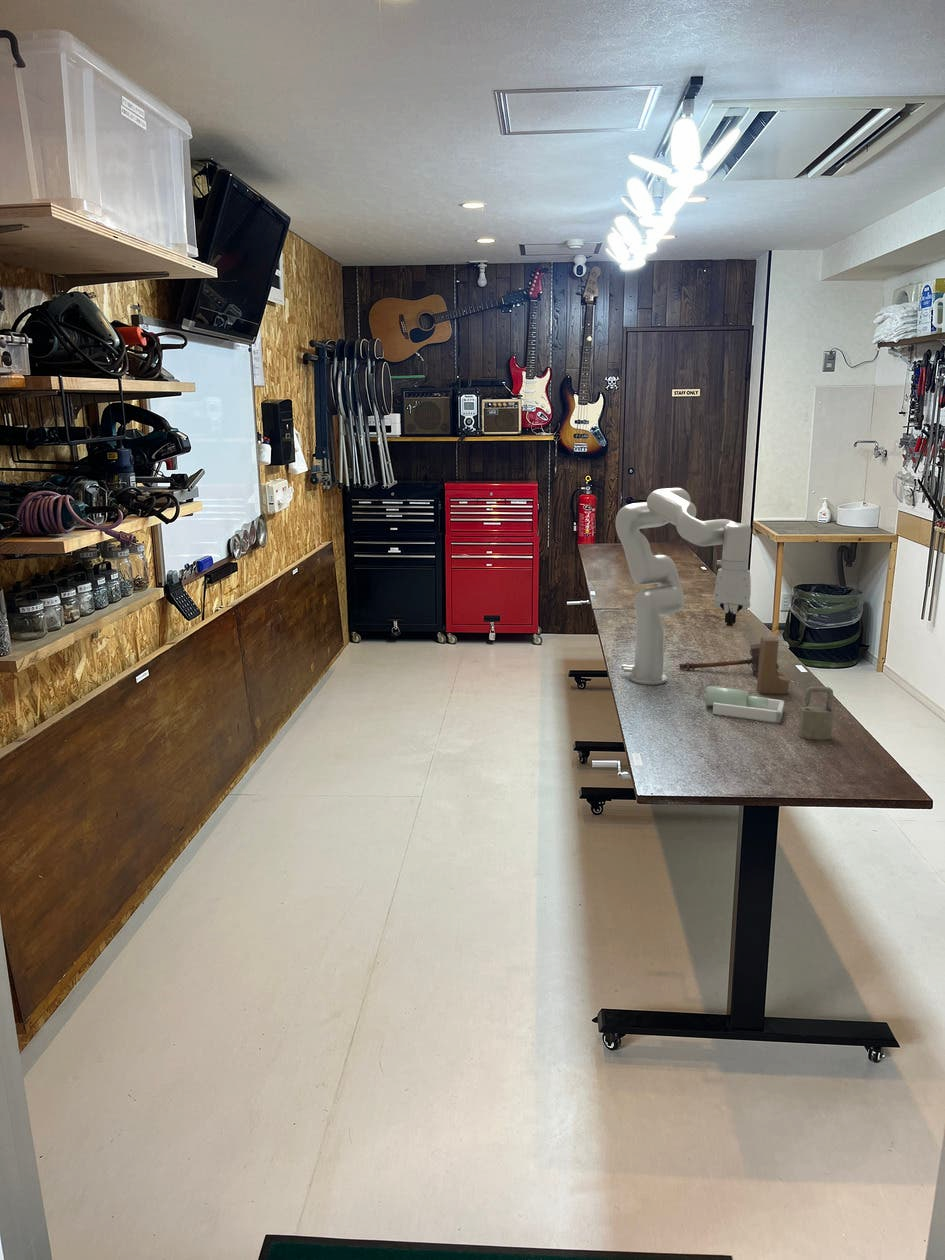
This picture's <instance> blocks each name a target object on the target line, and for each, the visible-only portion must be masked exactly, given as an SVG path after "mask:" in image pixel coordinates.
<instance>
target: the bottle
mask: <svg viewBox="0 0 945 1260" xmlns="http://www.w3.org/2000/svg"><path fill="white" fill-rule="evenodd" d="M704 699H705V701H704V702H705V703H704V705H705V706H710V707H711V706H712V707H713V704H714V703H722V704H730V705H737V706H745V707H747V705H748V706H756V707H764V708H767V705H768V699H769V697H763V696H755V695H749V690H744V689H737V688H728V687H720V686H712V685H707V686H706V691H705V698H704Z"/></svg>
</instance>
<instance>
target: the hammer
mask: <svg viewBox="0 0 945 1260" xmlns="http://www.w3.org/2000/svg"><path fill="white" fill-rule="evenodd" d="M749 648H750V649H749V654H750V656H751V658H750V657H748V658H746V659H741V660H740V659H739V660H729V661H728V660H727V661H717V662H715V661H714V662H700V663H699V662H698V663H694V662H689V661H686V662H685V663H679V665H678V666H679V670H687V671H691V670H695V669H701V668H702V669H703V668H705V669H706V668H717V667H729V666H738V665H747V666H748V665H751V666H750V668H751V670H752V671H753V675H754V674H755V675H754V677H755V676H758V666H759V654H760V643H754V644H749ZM778 664H779V663H777V665H776V672H777V675H778V674H779V672H778V669H779V665H778Z"/></svg>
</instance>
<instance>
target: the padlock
mask: <svg viewBox="0 0 945 1260" xmlns="http://www.w3.org/2000/svg"><path fill="white" fill-rule="evenodd" d="M812 692H815V693H816V692H817V693H818V692H819V693H827V697H826V705H825V707H820V706H809V704H810V702H811V696H812ZM804 695H805V696H804V703H805V707H801V711H800V720H799V729H798V730H799V731H798V736H799V737H800V738H801V739H807V740H830V739H832V730H833V721H834V710H833V709H832V707H833V698H834V697H833V696H834V691H833V689H832V688H831V687H828V686H815V685H814V686H810V687H808V688H806V690H805V694H804Z"/></svg>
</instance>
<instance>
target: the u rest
mask: <svg viewBox="0 0 945 1260" xmlns="http://www.w3.org/2000/svg"><path fill="white" fill-rule="evenodd" d="M784 709H785V700H784V699H783V700H782V699H776V698H768V705H767V708H764V707H756V706H748V705H747V707H745V706H737V705H730V704H722V703H714V704H713V706H712V715H714V714H718V715H717V716H722V715H725V716H724V717H729V716H730V717H731V718H737V719H738V718H739V719H745V720H752V721H753V720H754V721H760V722H766V723H774V724H781V721H782V718H783V714H784V711H785V710H784ZM730 717H729V718H730Z"/></svg>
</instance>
